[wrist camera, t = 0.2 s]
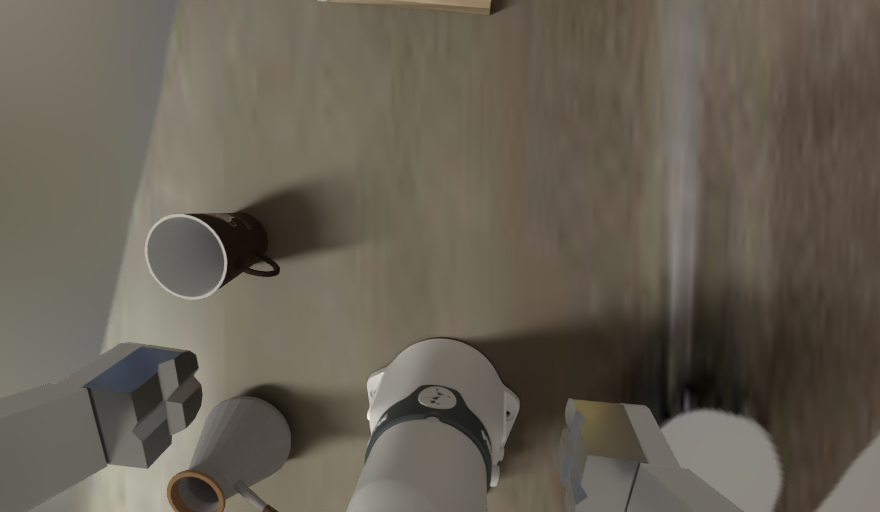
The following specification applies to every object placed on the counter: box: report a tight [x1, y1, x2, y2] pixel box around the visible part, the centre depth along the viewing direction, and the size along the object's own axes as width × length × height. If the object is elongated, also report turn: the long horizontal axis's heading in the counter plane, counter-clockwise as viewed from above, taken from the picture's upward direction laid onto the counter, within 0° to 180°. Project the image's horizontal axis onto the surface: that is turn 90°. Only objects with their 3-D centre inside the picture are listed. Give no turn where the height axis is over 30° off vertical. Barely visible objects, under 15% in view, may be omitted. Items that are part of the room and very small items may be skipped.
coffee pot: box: [167, 396, 291, 512], centre depth 50 cm, size 21×12×15 cm, turn 75°
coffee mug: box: [145, 213, 280, 300], centre depth 47 cm, size 12×9×10 cm
